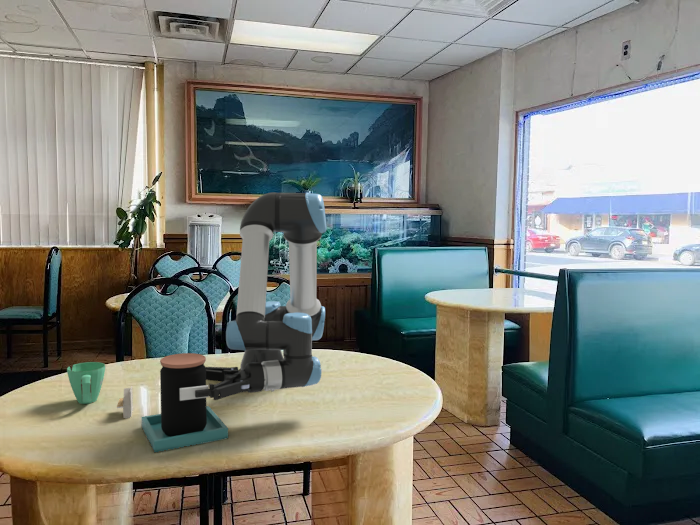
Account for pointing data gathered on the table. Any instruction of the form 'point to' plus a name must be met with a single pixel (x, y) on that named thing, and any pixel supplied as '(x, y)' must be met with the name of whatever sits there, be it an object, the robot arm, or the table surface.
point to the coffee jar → (173, 377)
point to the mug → (86, 380)
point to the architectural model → (126, 403)
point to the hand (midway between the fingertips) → (176, 385)
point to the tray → (163, 442)
